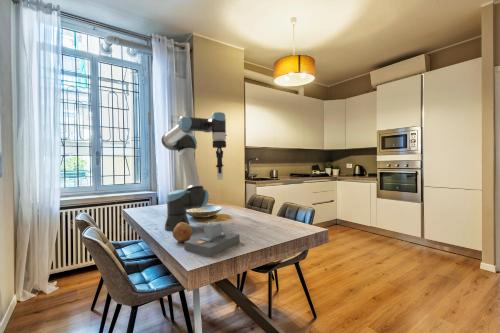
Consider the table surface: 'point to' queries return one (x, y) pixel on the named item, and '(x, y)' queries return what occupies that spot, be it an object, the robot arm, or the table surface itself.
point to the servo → (212, 232)
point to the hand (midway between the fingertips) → (220, 178)
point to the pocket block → (211, 244)
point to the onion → (182, 232)
